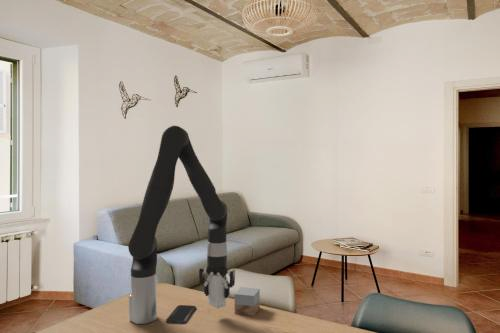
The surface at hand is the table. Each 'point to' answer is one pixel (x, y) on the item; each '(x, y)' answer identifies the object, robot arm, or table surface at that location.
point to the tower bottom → (247, 309)
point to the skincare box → (216, 292)
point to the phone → (181, 314)
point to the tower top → (247, 296)
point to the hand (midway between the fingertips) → (216, 296)
